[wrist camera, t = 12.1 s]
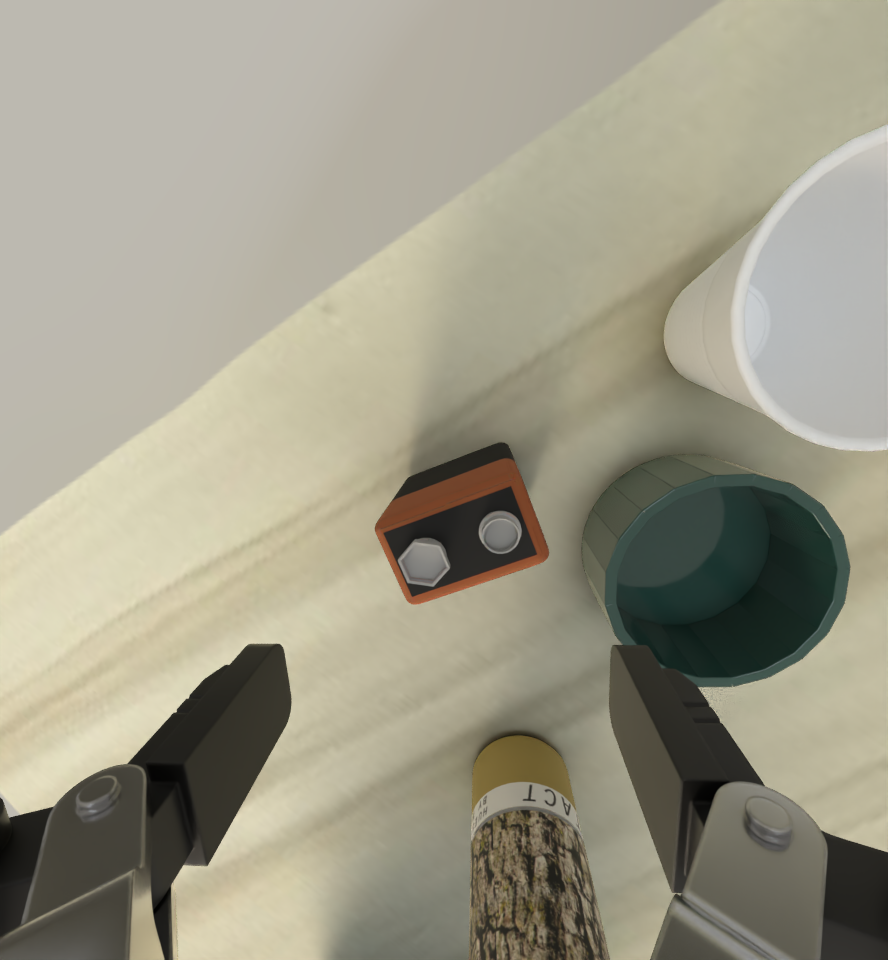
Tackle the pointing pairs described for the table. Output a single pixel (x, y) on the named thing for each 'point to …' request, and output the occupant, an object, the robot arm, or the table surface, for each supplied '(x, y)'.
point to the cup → (802, 306)
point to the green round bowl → (715, 568)
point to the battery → (461, 526)
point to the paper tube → (529, 859)
